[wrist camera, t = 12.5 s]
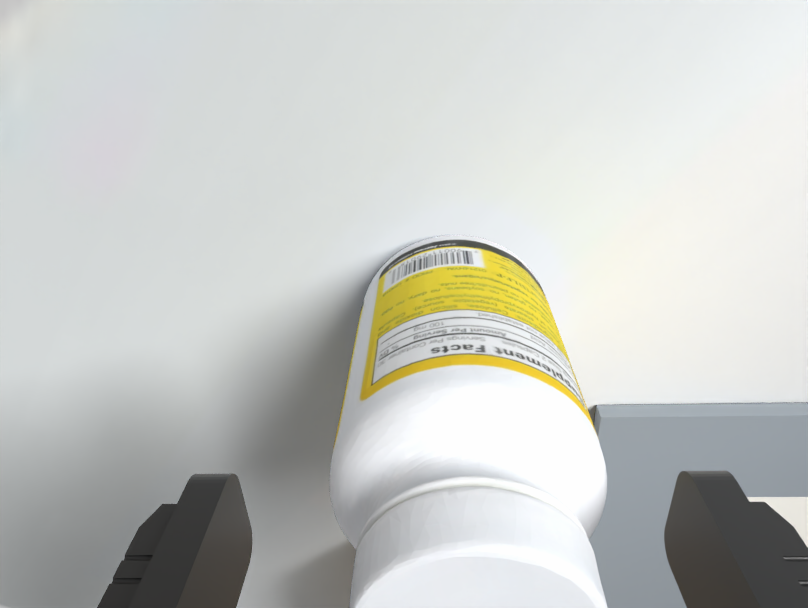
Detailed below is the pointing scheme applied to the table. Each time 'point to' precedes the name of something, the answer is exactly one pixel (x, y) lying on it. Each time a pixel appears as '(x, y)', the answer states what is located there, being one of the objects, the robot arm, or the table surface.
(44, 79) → the table surface
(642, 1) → the table surface
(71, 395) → the table surface
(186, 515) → the robot arm
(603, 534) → the letter board
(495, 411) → the supplement bottle
